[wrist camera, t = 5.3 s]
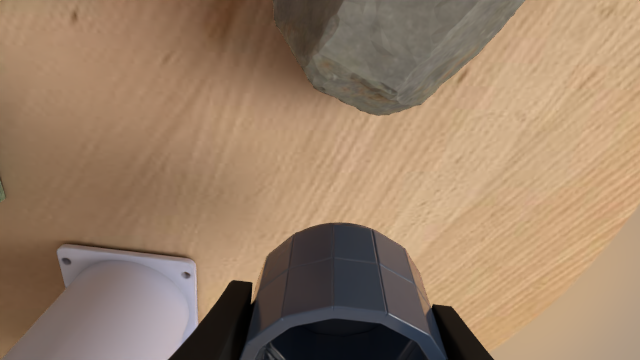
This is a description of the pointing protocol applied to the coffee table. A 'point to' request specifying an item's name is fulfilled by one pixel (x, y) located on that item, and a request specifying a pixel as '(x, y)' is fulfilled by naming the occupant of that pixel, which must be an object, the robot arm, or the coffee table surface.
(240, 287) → the robot arm
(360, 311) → the bowl
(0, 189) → the scale
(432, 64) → the stone
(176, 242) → the coffee table surface
